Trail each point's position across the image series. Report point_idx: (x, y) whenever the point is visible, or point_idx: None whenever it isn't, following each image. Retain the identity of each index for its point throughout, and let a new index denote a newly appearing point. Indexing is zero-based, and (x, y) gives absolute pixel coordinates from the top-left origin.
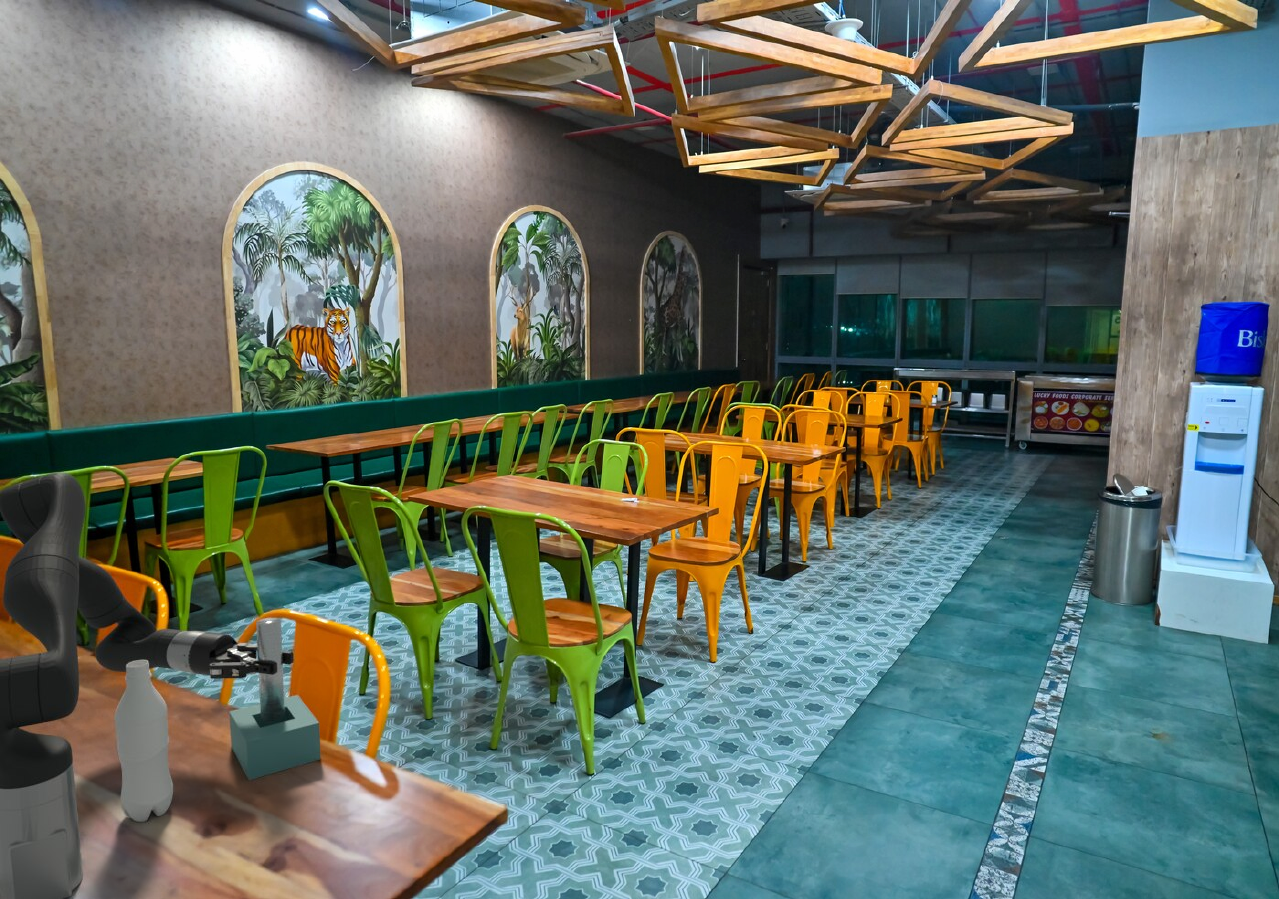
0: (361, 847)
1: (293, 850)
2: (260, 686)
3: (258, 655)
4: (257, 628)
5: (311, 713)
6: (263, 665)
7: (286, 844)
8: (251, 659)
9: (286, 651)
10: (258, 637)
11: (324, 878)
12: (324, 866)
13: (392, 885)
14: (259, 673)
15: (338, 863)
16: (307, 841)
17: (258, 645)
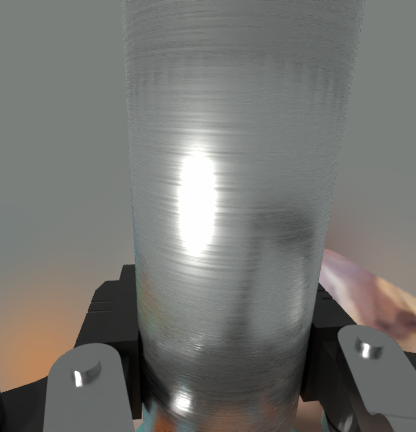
0: (319, 279)
1: (381, 319)
2: None
3: (312, 312)
4: (358, 38)
5: (140, 428)
6: (323, 292)
7: (384, 331)
8: (378, 338)
9: (125, 280)
10: (339, 142)
11: (372, 281)
12: (364, 288)
13: (330, 251)
14: (294, 424)
15: (350, 282)
16: (359, 317)
17: (327, 223)
